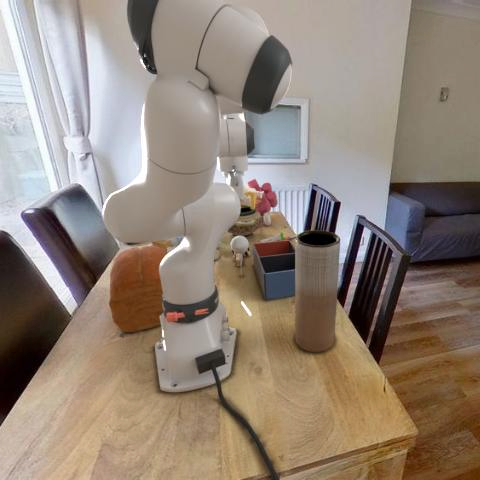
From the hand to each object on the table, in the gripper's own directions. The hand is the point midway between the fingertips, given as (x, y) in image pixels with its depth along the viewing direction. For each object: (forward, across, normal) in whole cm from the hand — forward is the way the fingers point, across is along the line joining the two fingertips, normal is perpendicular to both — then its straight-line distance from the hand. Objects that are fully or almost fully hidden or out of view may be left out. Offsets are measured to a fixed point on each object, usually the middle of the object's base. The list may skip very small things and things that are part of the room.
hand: (235, 208), depth 98 cm
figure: (+10, +40, -5) cm, 42 cm away
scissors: (+25, +29, -23) cm, 45 cm away
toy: (+17, +58, -10) cm, 62 cm away
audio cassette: (+24, +42, +37) cm, 61 cm away
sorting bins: (+24, -5, -12) cm, 28 cm away
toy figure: (+25, +15, -2) cm, 29 cm away
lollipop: (+25, 0, 0) cm, 25 cm away
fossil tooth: (+25, +17, +14) cm, 33 cm away
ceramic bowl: (+25, +39, -5) cm, 46 cm away
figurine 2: (+20, +28, +7) cm, 35 cm away
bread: (+25, -9, +27) cm, 38 cm away
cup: (+22, +19, -9) cm, 31 cm away
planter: (+24, -38, -14) cm, 48 cm away
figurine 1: (+25, +37, +20) cm, 49 cm away
